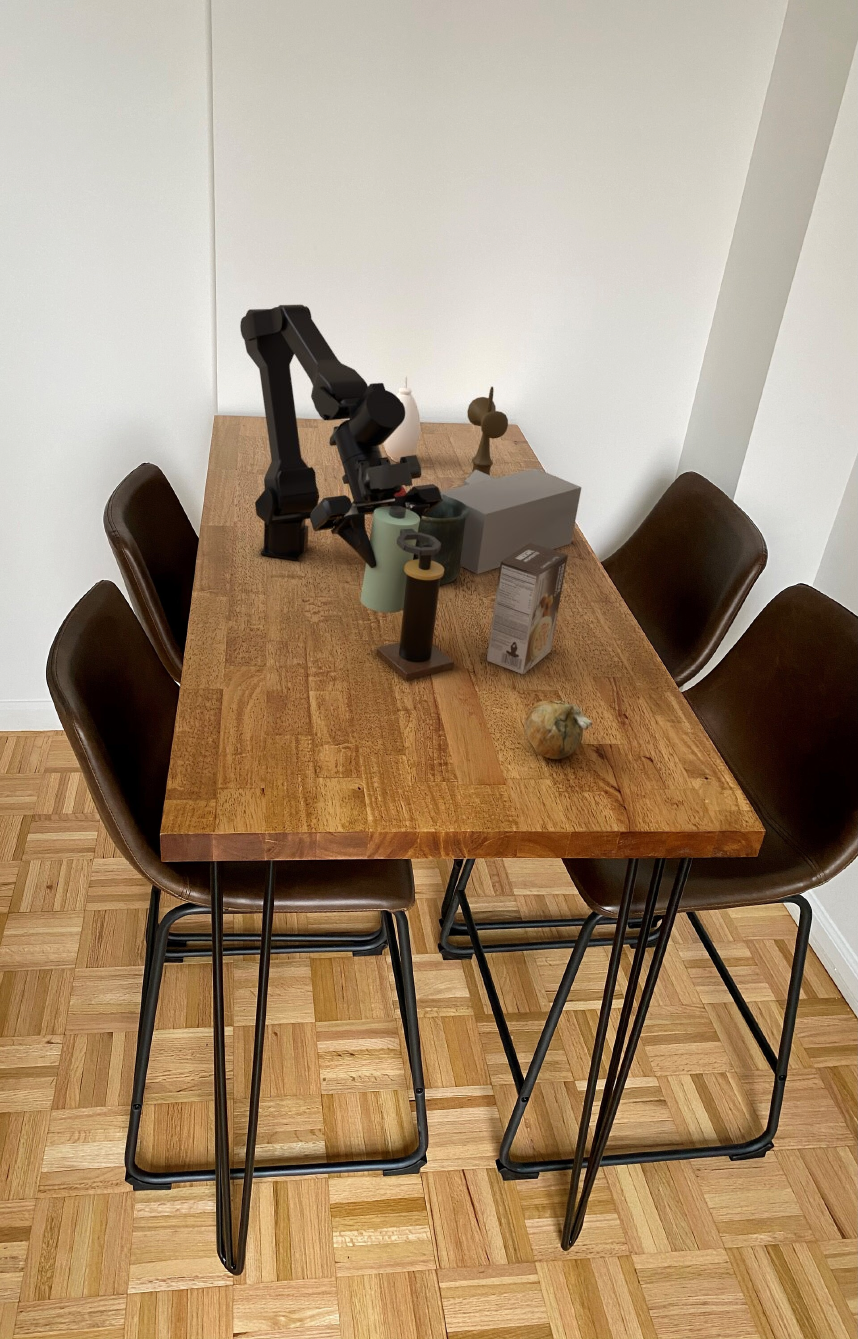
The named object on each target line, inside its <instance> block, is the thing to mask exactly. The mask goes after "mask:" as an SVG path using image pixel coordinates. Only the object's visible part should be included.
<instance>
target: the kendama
mask: <svg viewBox="0 0 858 1339" xmlns="http://www.w3.org/2000/svg"><path fill="white" fill-rule="evenodd" d="M488 392H489V393H488V397H486V396H479V397H476V398H474V399H472V401H471V402H470V403H469V404H468V408H467V411H466V412H467V419H468V421H469V423H470V424H472V425H473V426H476V427H480V430H481V437H480V441H479V444H478V447H477V451H476V454H475V456H474V457H472V458H471V462H472V469H471V472H470V474H469V475H468V476H467V478H468V477H469V476H470V475H471V474H472V473H473V472H474V471H475V469H476V470H478V471H480V472H483V473H485V474H487V475H489V476H491V467H492V466H493V464H494V462H493V460H492V458H491V443H490V442H491V440H490V439H493V440H494V439H499V438H501V437H503V436H504V435H505V434H506V432H507V430H508V427H509V419H508V416H507V414H505V413H504V412H503V411H499V410H497V408H496V404H495V401H494V386H490V389H489V391H488Z"/></svg>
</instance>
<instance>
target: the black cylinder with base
mask: <svg viewBox="0 0 858 1339" xmlns="http://www.w3.org/2000/svg"><path fill="white" fill-rule="evenodd" d="M427 547H431V546H429V545H423V546H422V547H421V548H427ZM431 558H432V555H420V559H417V560H411V561H409V562H407V563H406V564H405V567H404V571H405V573H406V574H407V577H406V587H405V597H404V607H403V609H402V619H401V629H400V639H399V641H397V642H394V643H391V644H386V645H381V646H377V647H376V651H375V656H377V657H378V658H379V659H380V660H382V661H383V662H384V663H385V664H386V665H387V666H388V667H389V668H391V669H392V670H393V671H394V672H395V673H396V674H398V675H399V677H401V679H403V680H404V681H405V682H407V681H412V680H415V679H419V678H423V677H428V676H431V675H434V674H438V673H441V672H446V671H450V670H453V669H454V665H455V664H454V662H455V661H454V660H453V659H451V657H449V656H448V655H446V654H445V653H443V651H441V650H440V649H439V648H438V647H436V646H435V645H434V644H433V643H434V636H435V628H436V619H437V610H438V601H439V594H440V586H441V585H440V578H441V577H442V576H443V575H444V568H443V566H442V565H441V564H439V563H437V562H434V561H431Z"/></svg>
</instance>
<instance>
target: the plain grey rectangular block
mask: <svg viewBox="0 0 858 1339" xmlns="http://www.w3.org/2000/svg"><path fill="white" fill-rule="evenodd" d="M470 474H471V473H470ZM470 474H469V475H470ZM469 475H468V476H469ZM468 476H467V478H466V479H465V480H464V481H463V485H461V486H457V487H454V488H449V489H445V490H440V491H441V494H442V496H446V497H450V498H453V499H456V500H459V501H460V502H462V503H464V504H465V505H466V506H467V507H468V508H469V514H468V516H467V517H466V520H465V528H464V536H463V544H462V552H461V560H460V567H462V568H465V569H466V570H468V571H469V572H472V573H473V574H475V575H479V574H482V573H485V572H488V571H493V570H495V569H498V568H500V562H501V561H502V560H504V559H505V558H507V557H508V556H510V555H511V554H513V553H515V552H516V551H518V550H519V549H521V548H522V547H524V546H525V545H527V544H528V543H532V544H535V545H539V546H542V547H546V548H549V549H552V550H555V549H556V550H557V549H558V548H562V547H564V546H568V545H571V544H572V541H573V536H574V532H575V531H574V530H575V525H576V520H577V514H578V508H579V504H580V498H581V493H582V486H579V485H577V484H575V483H572V482H570V481H568V480H565V479H563V478H560V477H558V476H556V475H554V474H551V473H549V472H546V471H543V470H542V469H539V468H537V467H534V468H529V469H526V470H521V471H517V472H513V473H509V474H506V475H502V476H498V477H494V476H492V475H490V476H489V475H487V474H485V473H483V472H480V471H478V470H476V469H475V471H474V472H473V473H472V474H471V475H470V476H469V477H468Z"/></svg>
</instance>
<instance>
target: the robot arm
mask: <svg viewBox="0 0 858 1339" xmlns="http://www.w3.org/2000/svg"><path fill="white" fill-rule="evenodd" d="M239 324H240V325H239V328H240V335H241V337H242V339H243V340H244V346H245V350H246V353H247V355H248V356H249V357H250V359H251V361H253V362H254V364H255V366H256V367H257V368H258V370H259V378H260V386H261V392H262V400H263V408H264V414H265V421H266V429H267V438H268V444H269V445H268V446H269V452H270V460H271V461H270V464H269V466H268V469H267V471H266V473H265V476H264V477H263V486H264V490H263V491H262V493H261V494H260V495H259V496H258V498H257V499H256V500H255V502H254V505H255V506H254V507H255V513H256V516H257V517H258V518H259V519H260V520H261V521H262V522H263V524H264V525H263V548H262V549H261V550H260V555H261V556H265V557H273V558H277V559H278V558H279V559H285V560H290V561H299V560H300V558H301V557H302V555H303V554H304V553H305V552H306V551H307V549H308V543H309V526H308V525H306V520H310V524H311V527H312V530H313V531H314V532H321V531H329V530H330V533H331V535H337V536H339V537H340V538H341V539H342V540H343V541H344V542H345V543H346V544H348V545H349V546H350V547H351V548H352V549H353V550H354V551H355V552H356V553H357V554H358V556H359V557H360V558H361V559H362V560H363V561H364V562H365V564H366V563H367V564H368V565H369V566H370V567H371V568H375V567H376V560H375V556H374V553H373V550H372V547H371V544H370V537H369V536H368V532H367V530H366V516H367V515H374V511H375V509H377V508H379V507H384V506H383V505H385V506H401V507H403V508H405V509H408V510H410V511H412V512H414V513H416V514H417V515H418V516H419V518H420V522H421V518H422V516H423V515H426V514H428V513H429V512H430V511H431V510H433V509H434V508H435V507H436V506H437V505H438V504H439V503H441V502H442V501H443V497H442V494H441V491H442V490H441V489H440V488H439V486H437V485H436V484H435V483H429V484H423V485H421V484H420V485H414V486H413V480H414V479H420V478H421V476H422V468H421V467H422V466H421V463H420V461H419V458H418V456H417V454H413V455H411V456H405V457H401V458H400V463H399V462H398V463H391V460H390V458H388V457H389V456H385V457H383V455H382V451H381V448H380V446H381V445H382V444H383V443H384V442H385V441H386V440H387V439H388V438H389V436H390V435H391V434H392V433H393V432H394V431H395V430H396V429H397V428H398V427H399V426H400V425H401V423H402V422H403V421H404V418H405V407H404V405H403V403H402V402H401V401H400V400H399V398H398V397H397V396H396V395H397V394H394V393H393V392H392V391H389V390H386V387H385V384H384V383H383V382H374V383H370V384H368V383H367V381H366V380H365V379H364V378H363V377H362V376H361V375H360V374H359V372H358V371H357V370H356V369H354V368H352V367H350V366H348V365H346V364H344V363H342V362H341V361H340V360H339V359H338V357H337V356H336V354H335V353H334V351H333V349H332V347H331V346H330V345H329V343H328V342H327V340H326V339H325V337H324V335H323V334H322V332H321V331H320V330H319V328H318V326H317V324H316V323H315V322H314V320H313V318H312V313H311V310H310V308H309V306H306V305H304V304H279V305H278V306H275V307H272V308H254V309H252V308H251V309H248V310H247V311H246V314H245V315H244V316H243V317H242V318H241V319H240V323H239ZM294 356H295V358H296V359H297V361H298V362H299V364H300V365H301V367H302V369H303V371H304V372H305V374H306V375H307V377H308V378H309V380H310V382H311V385H312V387H311V388H312V389H311V393H310V398H311V400H312V403H313V406H314V409H315V411H316V412H317V413H318V416H319V417H320V418H321V419H322V420H323V421H339V420H344V421H342V422H341V423H340V424H339V425H337V426H333V431H332V434H331V435H330V437H329V442H328V443H329V446H331V447H333V446H336V448H337V452H338V455H339V458H340V461H341V464H342V467H343V471H344V474H343V476H342V477H341V479H342V483H343V485H348V487H349V489H350V493H351V497H352V499H353V501H351V500H352V499H351V498H350V497H349V496H347V494H343V495H336V496H329V497H323V498H322V499H321V500H319V499H320V493H319V488H318V485H317V478H316V476H317V475H316V474H317V473H316V471H315V469H314V468H313V467H312V466H308V465H307V463H306V462H305V461H304V459H303V457H302V452H301V443H300V436H299V429H298V428H299V427H298V421H297V413H296V404H295V399H294V398H295V397H294V389H293V381H292V373H291V364H292V361H293V359H294ZM401 486H405V487H411V488H410V489H409V490H408V491H406V494H405V495H404V496H398V497H395V495H394V494H395V493H399V492H400V491H401V490H402V487H401ZM387 504H388V505H387ZM420 522H419V528H418V532H419V529H420ZM415 546H416V547H419V540H418V539H416V545H415ZM417 559H418V555H416V554H414V556H413V560H417Z"/></svg>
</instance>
